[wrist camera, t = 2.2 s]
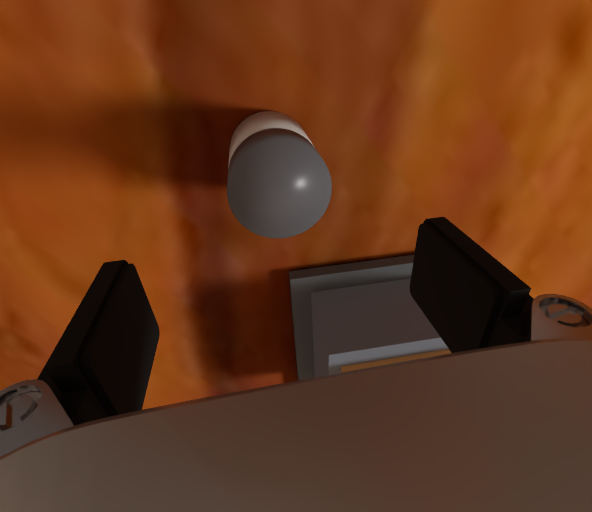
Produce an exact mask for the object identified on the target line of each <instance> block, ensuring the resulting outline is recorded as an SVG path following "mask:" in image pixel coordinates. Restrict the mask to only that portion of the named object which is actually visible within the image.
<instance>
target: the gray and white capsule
mask: <svg viewBox="0 0 592 512" xmlns="http://www.w3.org/2000/svg"><path fill="white" fill-rule="evenodd" d="M331 190H332V184H331V177H330V173H329V170H328V168H327V166H326V164H325V162H324V161H323V159H322V158H321V156H320V155H319V153H318V152H317V150H316V149H315V147H314V146H313V144H312V143H311V141H310V140H309V138H308V137H307V135H306V134H305V132H304V131H303V129H302V128H301V126H300V125H299V124H298V123H297V122H296V121H295V120H294V119H292V118H291V117H289V116H288V115H285V114H283V113H280V112H276V111H263V112H258V113H255V114H253V115H251V116H249V117H247V118H246V119H245V120H243V121H242V122H241V123H240V124H239V126H238V127H237V128H236V130H235V131H234V133H233V135H232V138H231V141H230V148H229V165H228V181H227V197H228V202H229V206H230V208H231V210H232V212H233V214H234V216H235V217H236V218H237V220H238V221H239V222H240V223H241V224H242V225H243V226H244V227H245V228H247V229H248V230H250V231H252V232H253V233H255V234H258V235H261V236H264V237H269V238H286V237H291V236H295V235H298V234H300V233H302V232H304V231H306V230H308V229H309V228H310V227H312V226H313V225H314V224H315V223H316V222H317V221H318V220H319V219H320V218H321V217H322V215H323V214H324V212H325V211H326V209H327V207H328V204H329V201H330V197H331Z"/></svg>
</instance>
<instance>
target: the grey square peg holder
mask: <svg viewBox="0 0 592 512" xmlns="http://www.w3.org/2000/svg"><path fill="white" fill-rule="evenodd" d="M413 261H414V255H408V256H400V257H393V258H386V259H378V260H371V261H363V262H356V263H348V264H341V265H333V266H326V267H318V268H311V269H304V270H296V271H289V283H290V294H291V306H292V317H293V329H294V340H295V351H296V363H297V374H298V380H304V379H309V378H315V377H320V376H326V375H331V374H337V373H342V372H348V371H354V370H359V369H365V368H370V367H376V366H382V365H387V364H393V363H399V362H404V361H410V360H416V359H422V358H427V357H433V356H439V355H445V354H450V353H451V351H450V350H449V348H448V347H447V346H446V344H445V343H444V341H443V340H442V339H441V337H440V336H439V334H438V333H437V332H436V330H435V329H434V327H433V326H432V324H431V323H430V322H429V320H428V319H427V317H426V316H425V315H424V313H423V312H422V310H421V309H420V308H419V306H418V305H417V303H416V302H415V300H414V299H413V298H412V296H411V294H410V280H411V274H412V267H413Z"/></svg>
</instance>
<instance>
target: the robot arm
mask: <svg viewBox="0 0 592 512" xmlns="http://www.w3.org/2000/svg"><path fill="white" fill-rule="evenodd" d="M530 290H531V288H530V287H529V286H528V285H526V284H525V283H524V282H523V281H522V280H520V279H519V278H518V277H517V276H515V275H514V274H513V273H512V272H511V271H509V270H508V269H507V268H506V267H505V266H503V265H502V264H501V263H500V262H498V261H497V260H496V259H495V258H494V257H492V256H491V255H490V254H489V253H488V252H486V251H485V250H484V249H483V248H481V247H480V246H479V245H478V244H477V243H475V242H474V241H473V240H472V239H471V238H469V237H468V236H467V235H466V234H464V233H463V232H462V231H461V230H460V229H458V228H457V227H456V226H455V225H454V224H452V223H451V222H450V221H449V220H447V219H446V218H445V217H438V218H430V219H426V220H425V221H424V223H423V224H421V225H420V226H419V229H418V236H417V242H416V248H415V255H414V261H413V267H412V274H411V280H410V294H411V296H412V298H413V299H414V300H415V302H416V303H417V305H418V306H419V308H420V309H421V310H422V312H423V313H424V315H425V316H426V317H427V319H428V320H429V322H430V323H431V324H432V326H433V327H434V329H435V330H436V332H437V333H438V334H439V336H440V337H441V339H442V340H443V341H444V343H445V344H446V346H447V347H448V348H449V350H450V351H451V353H450V354H445V355H439V356H433V357H427V358H422V359H416V360H410V361H404V362H399V363H393V364H387V365H382V366H376V367H370V368H365V369H359V370H354V371H348V372H342V373H337V374H331V375H326V376H320V377H315V378H309V379H304V380H298V381H293V382H287V383H282V384H276V385H271V386H265V387H260V388H254V389H249V390H244V391H238V392H233V393H228V394H222V395H217V396H211V397H206V398H201V399H195V400H190V401H185V402H179V403H174V404H169V405H164V406H159V407H154V408H149V409H144V410H142V406H143V402H144V398H145V394H146V390H147V386H148V381H149V377H150V373H151V369H152V365H153V361H154V356H155V352H156V348H157V344H158V340H159V327H158V324H157V321H156V319H155V316H154V314H153V311H152V309H151V306H150V303H149V301H148V298H147V296H146V293H145V291H144V288H143V286H142V283H141V281H140V278H139V276H138V273H137V270H136V268H135V266H134V265H133V264H128V262H127V261H126V260H120V261H112V262H105V263H104V264H103V265H102V267H101V268H100V270H99V272H98V274H97V275H96V277H95V279H94V281H93V282H92V284H91V286H90V288H89V290H88V291H87V293H86V295H85V297H84V298H83V300H82V302H81V304H80V305H79V307H78V309H77V311H76V312H75V314H74V316H73V318H72V319H71V321H70V323H69V325H68V326H67V328H66V330H65V332H64V333H63V335H62V337H61V339H60V340H59V342H58V344H57V346H56V347H55V349H54V351H53V353H52V354H51V356H50V358H49V360H48V361H47V363H46V365H45V367H44V368H43V370H42V372H41V374H40V375H39V377H38V379H33V380H25V381H22V382H19V383H15V384H13V385H11V386H9V387H7V388H5V389H3V390H1V391H0V512H592V309H591V308H590V307H588V306H587V305H585V304H584V303H582V302H580V301H578V300H576V299H573V298H570V297H567V296H563V295H557V294H543V295H539V296H537V297H536V298H534V299H533V298H532V297H531V296H530V295H529V292H530Z"/></svg>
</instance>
